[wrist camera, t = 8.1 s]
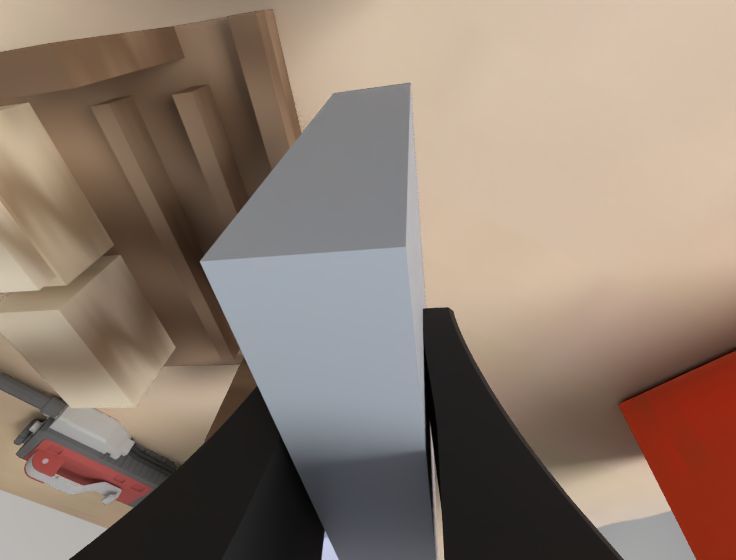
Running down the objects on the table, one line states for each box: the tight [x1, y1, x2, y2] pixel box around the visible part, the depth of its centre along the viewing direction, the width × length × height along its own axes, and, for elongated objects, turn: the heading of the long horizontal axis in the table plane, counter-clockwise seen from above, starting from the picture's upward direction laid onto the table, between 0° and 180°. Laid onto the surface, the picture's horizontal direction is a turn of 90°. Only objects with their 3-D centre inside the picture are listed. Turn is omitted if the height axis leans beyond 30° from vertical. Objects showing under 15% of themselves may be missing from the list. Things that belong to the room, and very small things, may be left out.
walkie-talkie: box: [0, 373, 177, 507], centre depth 32 cm, size 9×4×20 cm
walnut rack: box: [0, 9, 301, 442], centre depth 18 cm, size 18×16×7 cm
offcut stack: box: [0, 102, 176, 408], centre depth 19 cm, size 15×4×4 cm, turn 8°
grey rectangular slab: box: [200, 83, 439, 560], centre depth 10 cm, size 10×2×8 cm, turn 8°
